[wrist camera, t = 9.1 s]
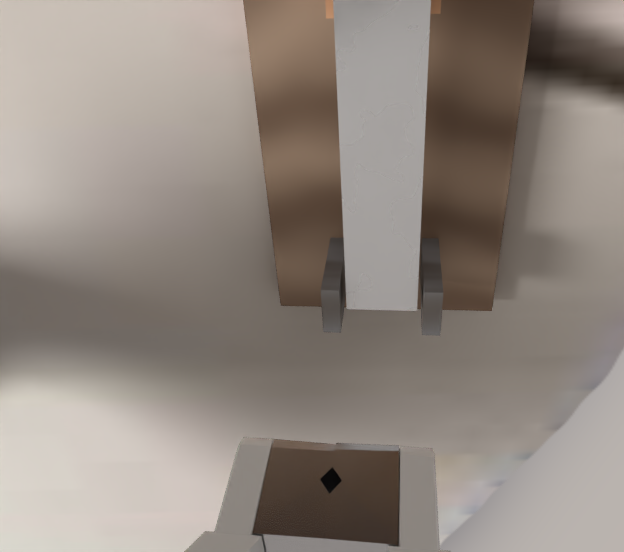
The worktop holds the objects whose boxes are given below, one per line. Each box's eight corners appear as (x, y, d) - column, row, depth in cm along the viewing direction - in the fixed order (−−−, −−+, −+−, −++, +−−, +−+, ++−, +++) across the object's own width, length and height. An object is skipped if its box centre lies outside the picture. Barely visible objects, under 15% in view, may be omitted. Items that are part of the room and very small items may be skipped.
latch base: (489, 296, 40) (503, 370, 34) (284, 292, 42) (265, 361, 36) (553, -194, 25) (596, -207, 19) (231, -166, 27) (185, -170, 21)
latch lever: (416, 297, 35) (416, 311, 34) (348, 296, 35) (346, 309, 34) (432, -64, 24) (433, -61, 23) (333, -58, 25) (330, -54, 24)
